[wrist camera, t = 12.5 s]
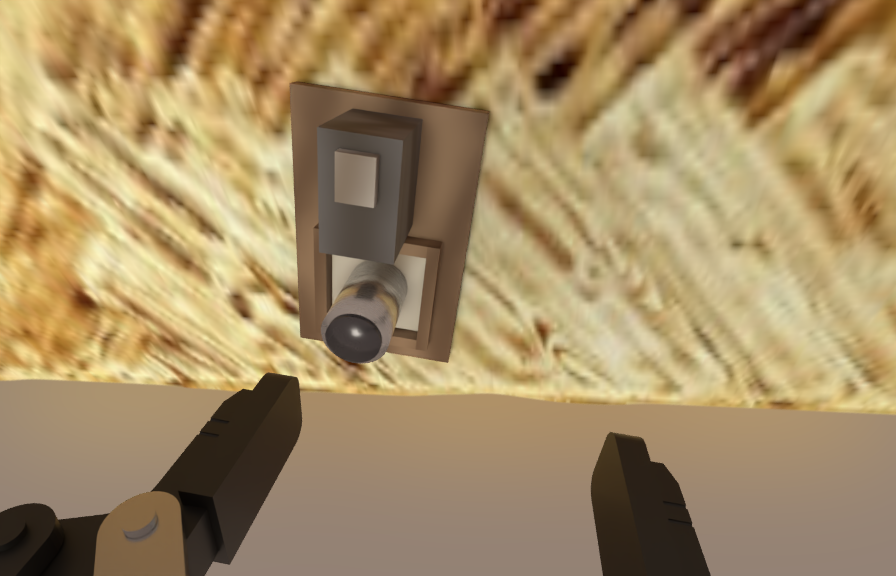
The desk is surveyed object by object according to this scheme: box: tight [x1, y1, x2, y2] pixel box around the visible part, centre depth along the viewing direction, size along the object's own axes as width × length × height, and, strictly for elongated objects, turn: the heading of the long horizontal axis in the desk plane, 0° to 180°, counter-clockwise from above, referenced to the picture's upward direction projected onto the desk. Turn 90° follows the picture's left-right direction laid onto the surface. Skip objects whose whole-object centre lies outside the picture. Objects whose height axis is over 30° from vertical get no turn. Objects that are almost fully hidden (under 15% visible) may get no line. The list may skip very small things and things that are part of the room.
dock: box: [290, 82, 489, 363], centre depth 34 cm, size 14×22×9 cm, turn 173°
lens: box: [321, 261, 408, 363], centre depth 36 cm, size 5×5×8 cm
